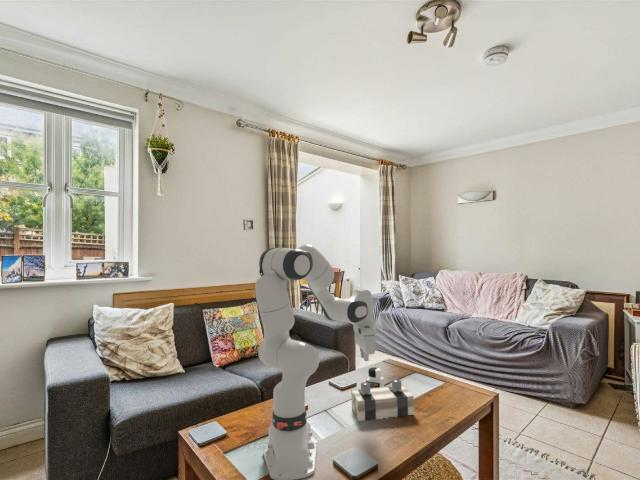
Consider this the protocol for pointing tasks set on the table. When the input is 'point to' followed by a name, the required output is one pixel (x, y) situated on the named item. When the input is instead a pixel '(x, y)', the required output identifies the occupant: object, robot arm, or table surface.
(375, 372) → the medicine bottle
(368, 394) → the peg
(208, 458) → the table surface
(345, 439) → the table surface
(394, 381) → the peg
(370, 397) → the block
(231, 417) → the table surface
